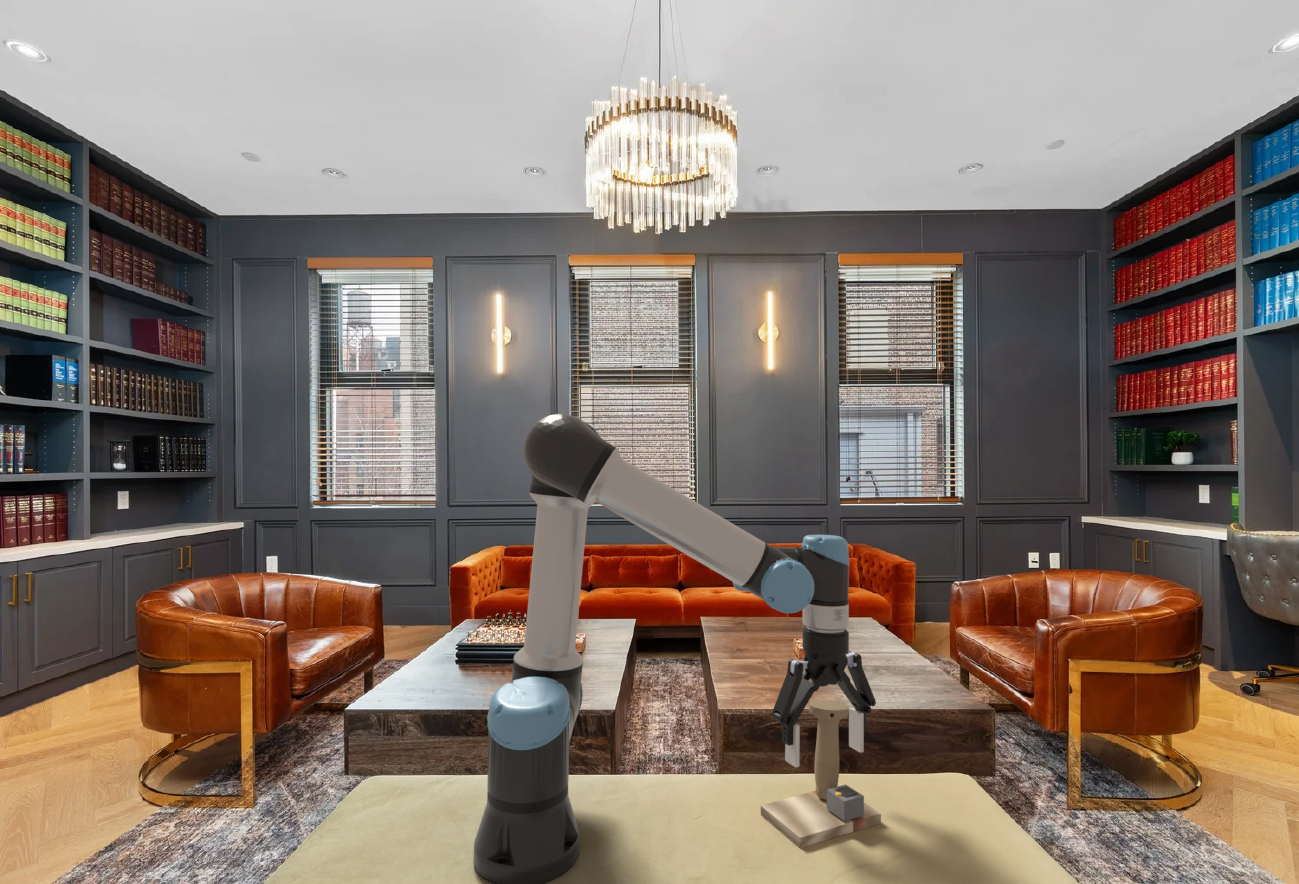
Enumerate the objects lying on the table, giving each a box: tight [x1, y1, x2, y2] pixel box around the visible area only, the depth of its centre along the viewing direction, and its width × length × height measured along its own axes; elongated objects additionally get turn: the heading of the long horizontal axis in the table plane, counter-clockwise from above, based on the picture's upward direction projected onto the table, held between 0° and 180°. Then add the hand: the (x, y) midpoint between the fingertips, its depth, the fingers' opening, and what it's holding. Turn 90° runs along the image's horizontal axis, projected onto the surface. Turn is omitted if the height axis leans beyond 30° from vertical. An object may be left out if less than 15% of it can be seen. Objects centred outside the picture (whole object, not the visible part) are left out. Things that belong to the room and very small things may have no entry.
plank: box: [760, 785, 882, 849], centre depth 101 cm, size 16×10×2 cm, turn 115°
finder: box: [827, 784, 865, 821], centre depth 100 cm, size 4×4×3 cm
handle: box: [808, 699, 850, 801], centre depth 106 cm, size 5×6×15 cm
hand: (825, 756), depth 106 cm, fingers open, 13 cm apart
